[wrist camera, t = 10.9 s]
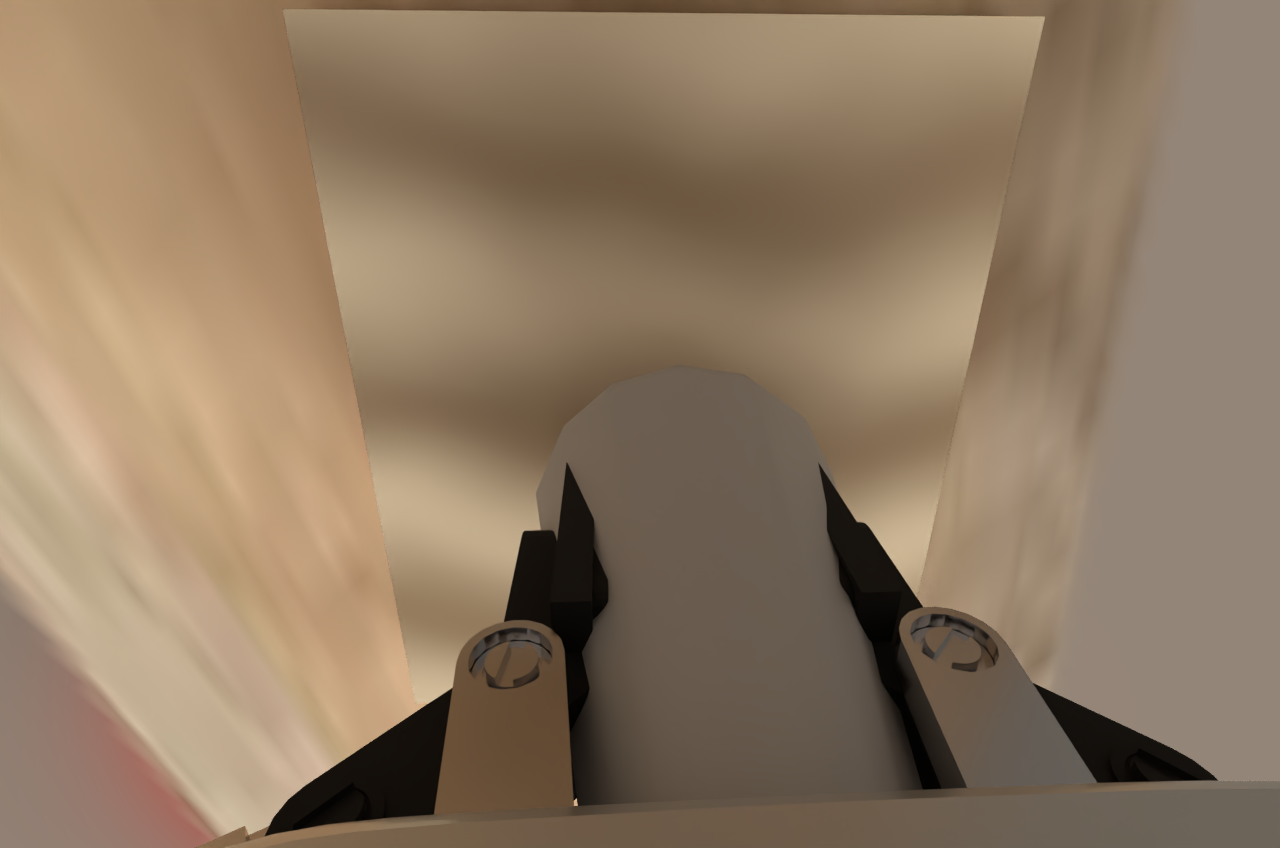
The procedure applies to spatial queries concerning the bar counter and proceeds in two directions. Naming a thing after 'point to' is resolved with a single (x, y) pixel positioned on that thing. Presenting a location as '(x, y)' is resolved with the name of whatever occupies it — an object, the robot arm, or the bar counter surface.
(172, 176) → the bar counter surface
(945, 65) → the serving board
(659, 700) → the salt shaker
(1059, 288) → the bar counter surface
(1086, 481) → the bar counter surface
